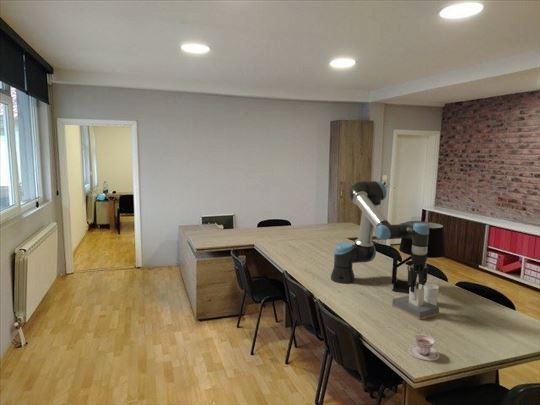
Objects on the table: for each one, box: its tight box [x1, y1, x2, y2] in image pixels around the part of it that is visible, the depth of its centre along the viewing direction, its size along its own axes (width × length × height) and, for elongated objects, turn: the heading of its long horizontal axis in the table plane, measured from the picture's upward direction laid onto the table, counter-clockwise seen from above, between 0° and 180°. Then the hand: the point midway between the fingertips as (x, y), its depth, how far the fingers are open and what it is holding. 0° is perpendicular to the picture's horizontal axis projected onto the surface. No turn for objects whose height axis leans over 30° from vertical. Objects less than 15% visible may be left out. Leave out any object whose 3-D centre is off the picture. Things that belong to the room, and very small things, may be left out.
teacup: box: [407, 333, 440, 362], centre depth 152 cm, size 12×12×6 cm
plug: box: [408, 282, 424, 307], centre depth 192 cm, size 6×4×13 cm, turn 27°
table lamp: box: [391, 220, 446, 295], centre depth 222 cm, size 26×28×40 cm
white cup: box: [423, 282, 440, 306], centre depth 203 cm, size 8×8×10 cm
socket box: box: [392, 295, 440, 321], centre depth 194 cm, size 18×14×4 cm
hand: (416, 297), depth 193 cm, fingers closed on plug, 4 cm apart
